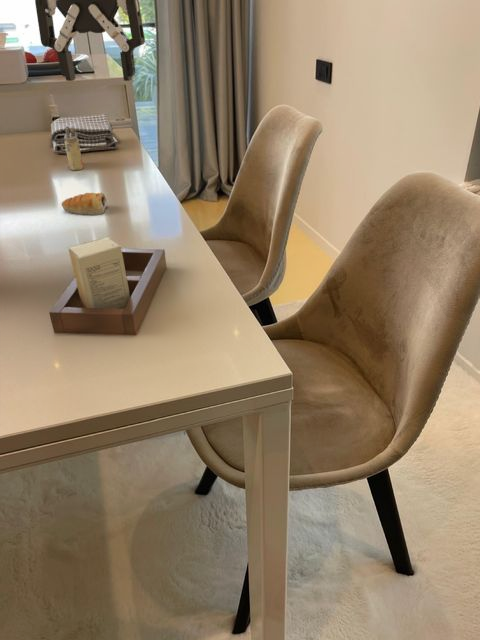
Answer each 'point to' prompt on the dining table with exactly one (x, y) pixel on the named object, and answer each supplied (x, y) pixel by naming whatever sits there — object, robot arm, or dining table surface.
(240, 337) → the dining table surface
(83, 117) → the towel
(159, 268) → the stand
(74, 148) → the pale yellow bottle
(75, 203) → the pastry
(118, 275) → the cosmetic box
